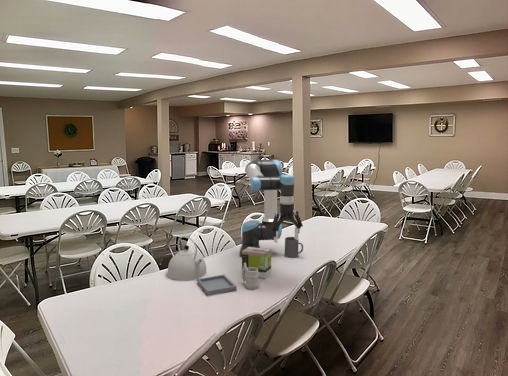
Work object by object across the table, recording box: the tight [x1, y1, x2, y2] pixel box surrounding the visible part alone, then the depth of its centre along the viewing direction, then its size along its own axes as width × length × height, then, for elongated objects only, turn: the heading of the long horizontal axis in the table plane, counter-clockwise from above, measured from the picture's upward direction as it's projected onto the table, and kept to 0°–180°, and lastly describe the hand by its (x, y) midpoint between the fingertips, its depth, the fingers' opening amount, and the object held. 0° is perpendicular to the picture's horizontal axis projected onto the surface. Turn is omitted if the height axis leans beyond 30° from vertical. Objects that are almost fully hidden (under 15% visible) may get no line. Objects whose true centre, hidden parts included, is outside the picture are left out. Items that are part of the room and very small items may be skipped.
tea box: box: [241, 247, 272, 279], centre depth 225 cm, size 15×10×15 cm, turn 65°
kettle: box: [167, 235, 208, 282], centre depth 224 cm, size 25×23×22 cm
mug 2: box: [284, 236, 304, 259], centre depth 257 cm, size 14×9×12 cm
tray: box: [196, 274, 238, 297], centre depth 206 cm, size 18×16×2 cm
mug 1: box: [241, 263, 260, 290], centre depth 208 cm, size 8×12×12 cm, turn 45°
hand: (286, 240), depth 212 cm, fingers open, 13 cm apart
